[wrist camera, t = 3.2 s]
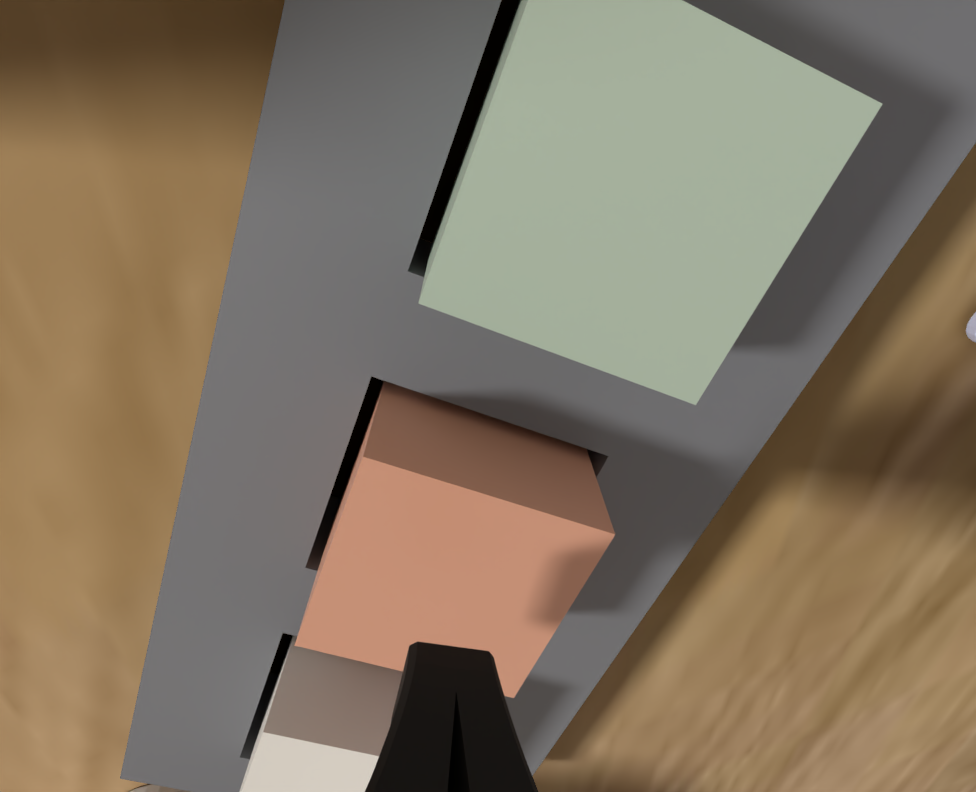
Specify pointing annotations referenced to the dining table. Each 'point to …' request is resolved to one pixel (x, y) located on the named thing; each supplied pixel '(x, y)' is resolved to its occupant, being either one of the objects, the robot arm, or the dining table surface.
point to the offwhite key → (322, 724)
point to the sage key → (636, 186)
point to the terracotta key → (455, 538)
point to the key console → (484, 345)
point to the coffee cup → (156, 789)
